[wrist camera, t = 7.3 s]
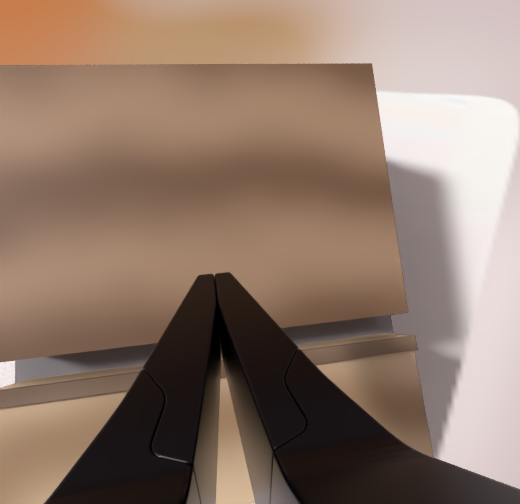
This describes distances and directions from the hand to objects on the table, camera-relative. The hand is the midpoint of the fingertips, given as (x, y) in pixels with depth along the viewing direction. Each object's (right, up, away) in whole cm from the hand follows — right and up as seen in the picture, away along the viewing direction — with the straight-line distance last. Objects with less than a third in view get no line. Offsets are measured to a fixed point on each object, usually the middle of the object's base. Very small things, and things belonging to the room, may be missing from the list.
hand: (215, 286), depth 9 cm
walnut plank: (-1, +3, +8) cm, 9 cm away
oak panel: (-1, -7, +7) cm, 10 cm away
